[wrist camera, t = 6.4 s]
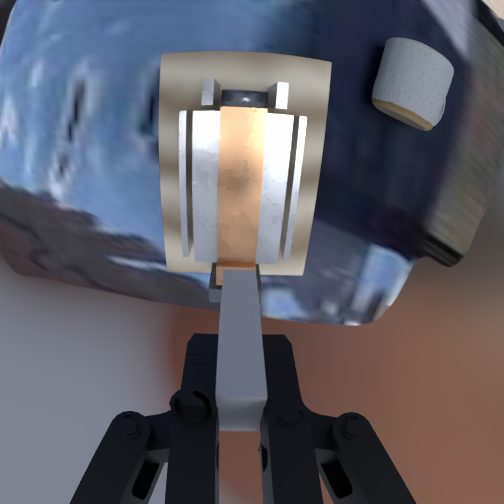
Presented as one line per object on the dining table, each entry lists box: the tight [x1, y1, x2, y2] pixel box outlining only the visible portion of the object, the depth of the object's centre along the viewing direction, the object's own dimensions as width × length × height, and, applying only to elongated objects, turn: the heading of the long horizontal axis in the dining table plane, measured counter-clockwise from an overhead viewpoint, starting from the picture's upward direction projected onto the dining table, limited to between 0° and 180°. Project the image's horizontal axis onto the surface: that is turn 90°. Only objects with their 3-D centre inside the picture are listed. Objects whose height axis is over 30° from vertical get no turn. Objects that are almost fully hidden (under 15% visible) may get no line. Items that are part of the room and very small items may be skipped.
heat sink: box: [179, 79, 307, 303], centre depth 24 cm, size 20×11×6 cm, turn 176°
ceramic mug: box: [372, 38, 454, 131], centre depth 21 cm, size 11×8×8 cm
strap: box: [216, 89, 269, 285], centre depth 22 cm, size 17×4×2 cm, turn 176°
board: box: [159, 51, 332, 275], centre depth 27 cm, size 24×16×2 cm, turn 176°
